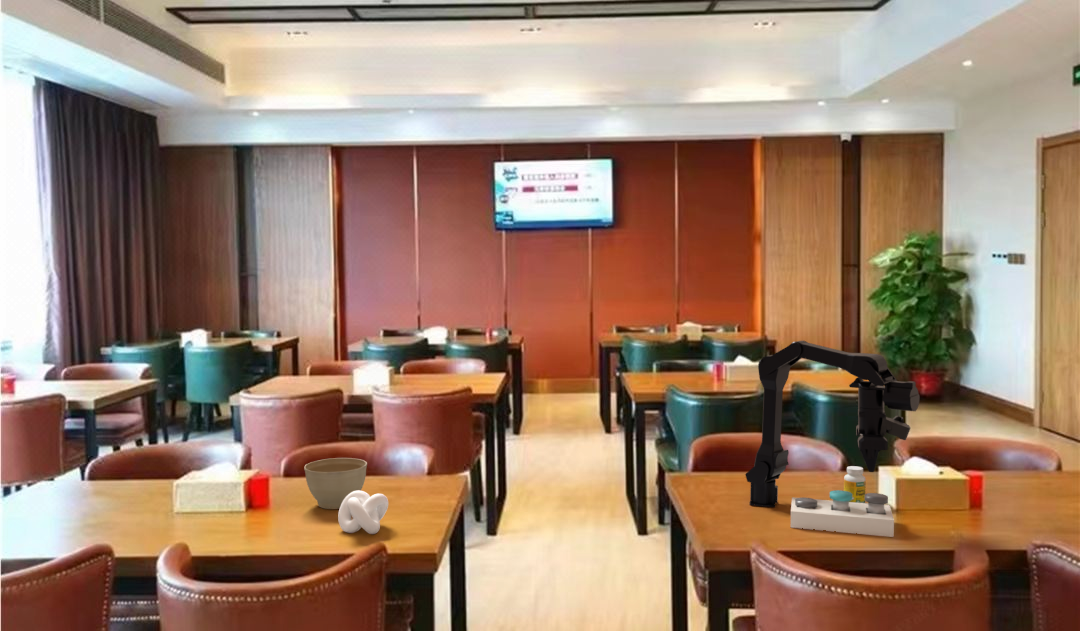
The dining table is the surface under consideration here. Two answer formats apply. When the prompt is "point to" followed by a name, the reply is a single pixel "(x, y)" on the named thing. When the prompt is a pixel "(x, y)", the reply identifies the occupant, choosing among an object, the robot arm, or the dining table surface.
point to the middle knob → (840, 500)
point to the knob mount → (843, 519)
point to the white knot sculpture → (362, 512)
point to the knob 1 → (806, 503)
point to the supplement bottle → (855, 484)
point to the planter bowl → (334, 479)
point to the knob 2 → (876, 502)
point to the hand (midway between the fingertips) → (871, 471)
